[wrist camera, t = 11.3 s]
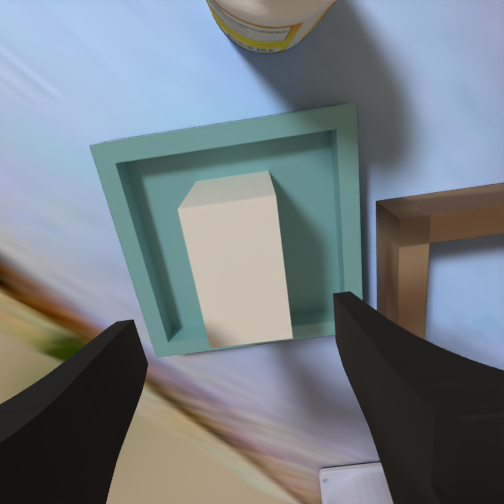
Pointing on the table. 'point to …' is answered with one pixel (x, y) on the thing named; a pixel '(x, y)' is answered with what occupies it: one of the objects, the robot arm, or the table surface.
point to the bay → (426, 243)
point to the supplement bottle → (268, 22)
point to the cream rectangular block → (237, 259)
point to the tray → (231, 164)
